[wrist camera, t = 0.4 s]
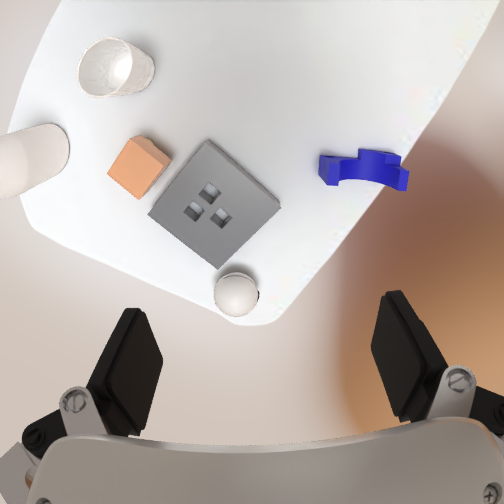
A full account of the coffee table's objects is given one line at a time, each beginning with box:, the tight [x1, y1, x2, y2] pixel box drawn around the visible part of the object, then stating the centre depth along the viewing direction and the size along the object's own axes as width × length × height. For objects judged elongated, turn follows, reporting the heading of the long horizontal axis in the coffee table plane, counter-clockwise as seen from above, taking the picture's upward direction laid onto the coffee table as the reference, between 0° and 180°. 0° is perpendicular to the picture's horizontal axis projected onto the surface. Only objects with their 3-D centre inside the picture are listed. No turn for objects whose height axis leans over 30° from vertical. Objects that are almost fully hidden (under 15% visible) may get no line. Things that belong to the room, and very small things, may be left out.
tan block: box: [107, 135, 172, 200], centre depth 38 cm, size 6×6×7 cm
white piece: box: [214, 270, 259, 317], centre depth 48 cm, size 10×7×7 cm
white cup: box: [77, 37, 155, 98], centre depth 30 cm, size 8×8×10 cm
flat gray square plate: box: [147, 140, 281, 269], centre depth 43 cm, size 14×14×3 cm
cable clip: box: [318, 149, 409, 191], centre depth 39 cm, size 12×4×6 cm, turn 90°
